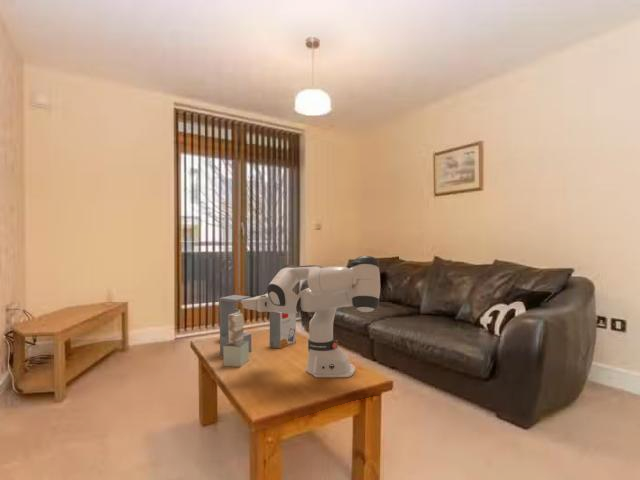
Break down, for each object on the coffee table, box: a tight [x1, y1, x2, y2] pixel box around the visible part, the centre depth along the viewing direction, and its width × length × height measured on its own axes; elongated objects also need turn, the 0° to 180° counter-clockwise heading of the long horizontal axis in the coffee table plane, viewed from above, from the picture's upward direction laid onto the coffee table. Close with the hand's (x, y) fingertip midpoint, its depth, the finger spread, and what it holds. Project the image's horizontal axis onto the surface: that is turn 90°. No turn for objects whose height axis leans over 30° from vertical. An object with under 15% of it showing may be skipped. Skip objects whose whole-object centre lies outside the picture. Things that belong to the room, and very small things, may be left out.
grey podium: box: [218, 294, 252, 356], centre depth 192 cm, size 12×11×30 cm
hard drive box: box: [269, 312, 297, 349], centre depth 206 cm, size 16×8×20 cm, turn 148°
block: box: [228, 313, 244, 345], centre depth 177 cm, size 5×5×14 cm
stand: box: [223, 341, 250, 368], centre depth 177 cm, size 9×9×10 cm
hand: (248, 299), depth 172 cm, fingers open, 8 cm apart
